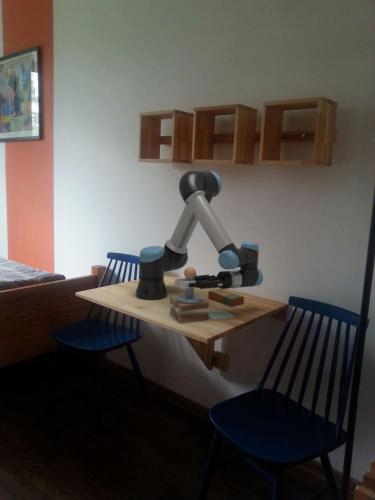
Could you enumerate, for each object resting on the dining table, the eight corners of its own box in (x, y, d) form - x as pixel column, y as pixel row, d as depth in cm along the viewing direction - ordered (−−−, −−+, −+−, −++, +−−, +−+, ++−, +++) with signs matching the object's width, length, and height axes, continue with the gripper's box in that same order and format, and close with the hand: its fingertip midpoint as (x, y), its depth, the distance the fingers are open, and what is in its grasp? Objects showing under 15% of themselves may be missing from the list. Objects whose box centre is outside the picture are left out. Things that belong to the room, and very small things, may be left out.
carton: (220, 296, 206) (221, 288, 206) (244, 305, 194) (244, 296, 193) (207, 299, 201) (208, 290, 200) (231, 307, 189) (231, 298, 188)
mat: (202, 312, 179) (202, 312, 179) (222, 310, 183) (223, 309, 183) (212, 320, 170) (212, 319, 170) (234, 317, 174) (234, 316, 174)
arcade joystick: (173, 298, 175) (174, 265, 173) (195, 296, 179) (196, 264, 177) (182, 305, 166) (183, 270, 164) (205, 302, 170) (206, 268, 168)
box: (169, 314, 177) (170, 297, 176) (196, 311, 182) (196, 295, 180) (180, 323, 166) (181, 306, 165) (208, 320, 171) (209, 303, 169)
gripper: (239, 293, 171) (186, 298, 162) (218, 283, 187) (169, 287, 178) (239, 275, 170) (186, 279, 160) (219, 266, 186) (169, 270, 177)
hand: (177, 283), depth 169 cm, fingers open, 5 cm apart
